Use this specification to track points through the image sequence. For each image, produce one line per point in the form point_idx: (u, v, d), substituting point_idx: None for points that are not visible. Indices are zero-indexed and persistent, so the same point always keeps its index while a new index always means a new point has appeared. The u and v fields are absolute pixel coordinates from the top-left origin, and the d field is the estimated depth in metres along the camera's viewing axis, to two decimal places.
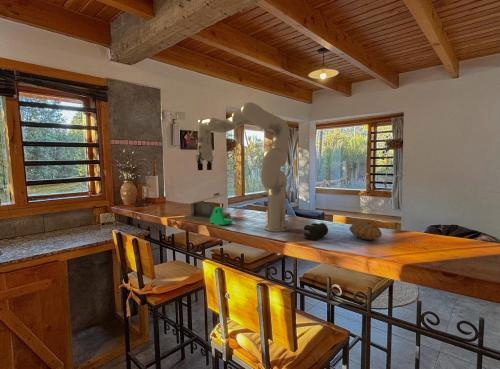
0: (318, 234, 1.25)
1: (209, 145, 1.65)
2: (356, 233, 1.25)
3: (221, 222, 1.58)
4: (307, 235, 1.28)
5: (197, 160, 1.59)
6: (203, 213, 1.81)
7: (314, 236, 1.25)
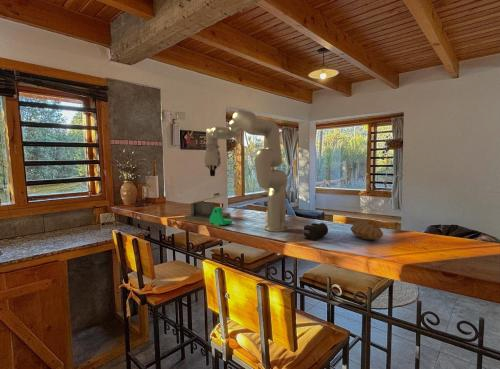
0: (318, 234, 1.25)
1: None
2: (358, 233, 1.25)
3: (220, 222, 1.57)
4: (307, 235, 1.28)
5: (215, 167, 1.81)
6: (203, 213, 1.81)
7: (314, 236, 1.25)
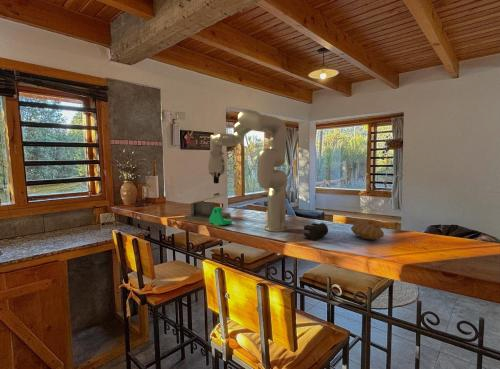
0: (318, 234, 1.25)
1: None
2: (358, 233, 1.25)
3: (220, 222, 1.57)
4: (307, 235, 1.28)
5: (219, 174, 1.77)
6: (203, 213, 1.81)
7: (314, 236, 1.25)
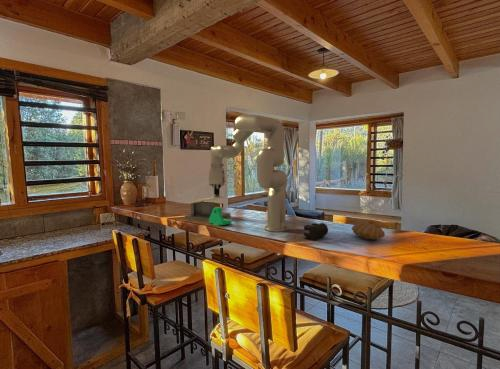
0: (318, 234, 1.25)
1: None
2: (359, 233, 1.25)
3: (220, 222, 1.57)
4: (307, 235, 1.28)
5: (220, 186, 1.77)
6: (203, 213, 1.81)
7: (314, 236, 1.25)
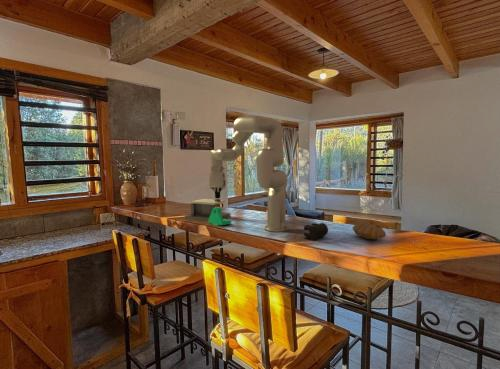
0: (318, 234, 1.25)
1: None
2: (360, 233, 1.25)
3: (219, 222, 1.57)
4: (307, 235, 1.28)
5: (221, 189, 1.77)
6: (203, 213, 1.81)
7: (314, 236, 1.25)
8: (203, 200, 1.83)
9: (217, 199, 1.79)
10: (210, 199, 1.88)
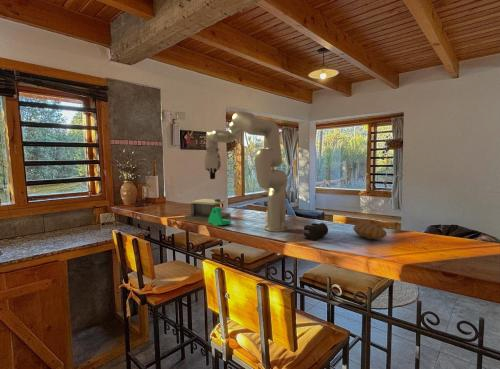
0: (318, 234, 1.25)
1: None
2: (362, 233, 1.25)
3: (219, 222, 1.57)
4: (307, 235, 1.28)
5: (215, 170, 1.81)
6: (203, 213, 1.81)
7: (314, 236, 1.25)
8: (203, 200, 1.83)
9: (217, 199, 1.79)
10: (210, 199, 1.88)
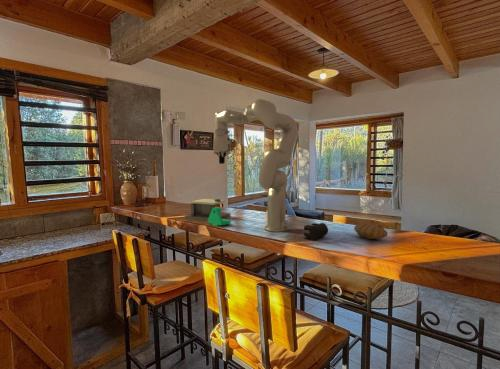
0: (318, 234, 1.25)
1: None
2: (363, 233, 1.25)
3: (219, 222, 1.56)
4: (307, 235, 1.28)
5: (225, 154, 1.68)
6: (203, 213, 1.81)
7: (314, 236, 1.25)
8: (203, 200, 1.83)
9: (217, 199, 1.79)
10: (210, 199, 1.88)
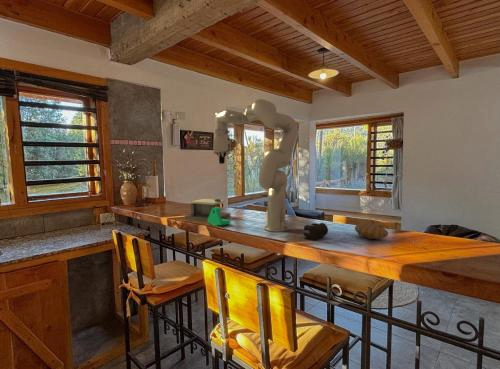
0: (318, 234, 1.25)
1: None
2: (364, 233, 1.25)
3: (218, 222, 1.56)
4: (307, 235, 1.28)
5: (225, 154, 1.68)
6: (203, 213, 1.81)
7: (314, 236, 1.25)
8: (203, 200, 1.83)
9: (217, 199, 1.79)
10: (210, 199, 1.88)
